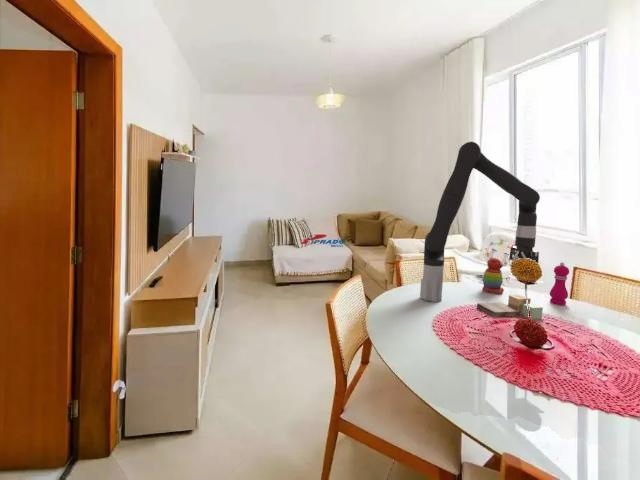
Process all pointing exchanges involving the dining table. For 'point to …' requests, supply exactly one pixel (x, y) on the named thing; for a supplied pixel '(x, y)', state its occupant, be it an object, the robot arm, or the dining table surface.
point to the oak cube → (517, 301)
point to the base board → (498, 309)
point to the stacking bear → (493, 277)
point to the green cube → (533, 311)
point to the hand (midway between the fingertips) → (522, 272)
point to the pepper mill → (559, 285)
